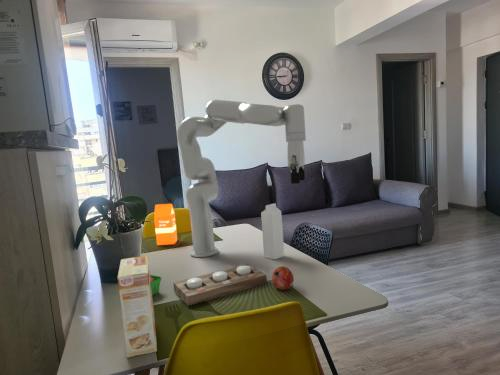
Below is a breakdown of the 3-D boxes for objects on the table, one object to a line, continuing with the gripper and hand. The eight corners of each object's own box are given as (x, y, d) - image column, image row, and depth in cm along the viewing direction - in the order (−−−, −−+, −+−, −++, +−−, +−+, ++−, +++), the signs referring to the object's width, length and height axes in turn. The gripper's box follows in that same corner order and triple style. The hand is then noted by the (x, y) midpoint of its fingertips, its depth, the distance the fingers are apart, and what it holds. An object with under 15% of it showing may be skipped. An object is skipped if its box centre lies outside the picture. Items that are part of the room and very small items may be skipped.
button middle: (210, 280, 121) (210, 273, 121) (223, 276, 124) (223, 270, 123) (216, 284, 117) (216, 277, 117) (229, 281, 119) (229, 274, 119)
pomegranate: (281, 288, 121) (260, 277, 116) (292, 270, 122) (272, 258, 117) (294, 298, 115) (273, 287, 110) (305, 278, 115) (285, 266, 110)
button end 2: (234, 273, 126) (234, 267, 125) (246, 270, 128) (246, 264, 128) (240, 277, 121) (240, 271, 121) (253, 274, 124) (252, 268, 123)
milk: (284, 256, 148) (281, 203, 145) (274, 260, 144) (271, 206, 141) (273, 253, 153) (270, 202, 150) (263, 257, 149) (260, 204, 146)
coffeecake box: (157, 351, 85) (148, 272, 82) (125, 358, 83) (115, 277, 80) (155, 322, 99) (148, 254, 97) (128, 328, 97) (120, 258, 95)
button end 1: (185, 286, 117) (184, 280, 117) (199, 283, 119) (198, 276, 119) (190, 291, 113) (189, 284, 113) (204, 287, 115) (204, 281, 115)
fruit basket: (137, 305, 111) (133, 270, 110) (118, 300, 116) (114, 267, 114) (164, 291, 120) (160, 259, 119) (146, 287, 125) (142, 256, 124)
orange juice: (174, 244, 180) (170, 204, 177) (156, 245, 180) (152, 206, 177) (177, 239, 187) (173, 202, 185) (160, 241, 188) (156, 203, 185)
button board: (174, 290, 120) (173, 281, 120) (247, 271, 133) (246, 263, 133) (188, 305, 108) (187, 295, 108) (267, 282, 121) (266, 273, 121)
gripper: (291, 138, 147) (293, 179, 149) (280, 138, 131) (283, 185, 133) (309, 136, 145) (311, 178, 147) (300, 137, 128) (303, 184, 130)
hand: (298, 181), depth 140 cm, fingers open, 9 cm apart
